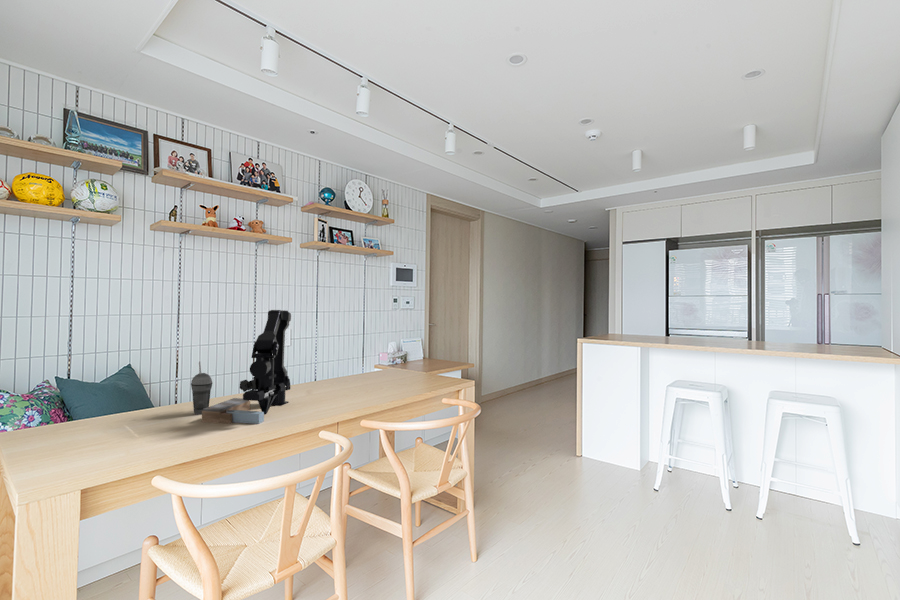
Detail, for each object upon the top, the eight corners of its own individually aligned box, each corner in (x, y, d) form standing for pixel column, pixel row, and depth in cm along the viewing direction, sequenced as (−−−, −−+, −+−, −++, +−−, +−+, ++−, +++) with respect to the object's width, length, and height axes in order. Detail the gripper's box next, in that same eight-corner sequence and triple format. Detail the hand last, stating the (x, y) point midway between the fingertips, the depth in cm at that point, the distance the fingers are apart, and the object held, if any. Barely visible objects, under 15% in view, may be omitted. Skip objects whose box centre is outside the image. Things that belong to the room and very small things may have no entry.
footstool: (233, 409, 170) (233, 397, 170) (259, 411, 168) (259, 399, 168) (201, 422, 152) (201, 408, 152) (230, 424, 150) (230, 410, 150)
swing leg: (263, 421, 153) (263, 411, 153) (258, 423, 150) (259, 413, 150) (229, 419, 155) (229, 409, 155) (223, 421, 152) (224, 411, 152)
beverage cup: (201, 417, 158) (203, 363, 158) (185, 415, 160) (186, 362, 160) (216, 412, 166) (217, 360, 166) (200, 410, 167) (201, 359, 167)
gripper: (259, 367, 168) (258, 406, 168) (229, 375, 149) (228, 420, 150) (286, 368, 166) (285, 408, 167) (258, 377, 148) (257, 422, 148)
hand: (264, 414), depth 158 cm, fingers closed
